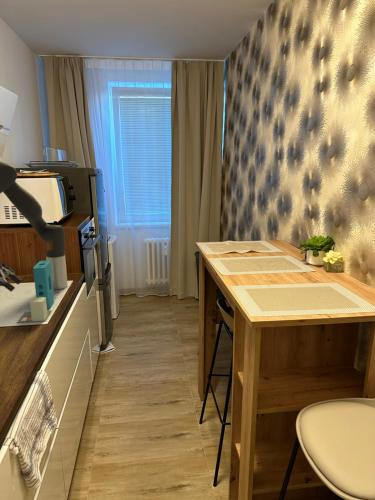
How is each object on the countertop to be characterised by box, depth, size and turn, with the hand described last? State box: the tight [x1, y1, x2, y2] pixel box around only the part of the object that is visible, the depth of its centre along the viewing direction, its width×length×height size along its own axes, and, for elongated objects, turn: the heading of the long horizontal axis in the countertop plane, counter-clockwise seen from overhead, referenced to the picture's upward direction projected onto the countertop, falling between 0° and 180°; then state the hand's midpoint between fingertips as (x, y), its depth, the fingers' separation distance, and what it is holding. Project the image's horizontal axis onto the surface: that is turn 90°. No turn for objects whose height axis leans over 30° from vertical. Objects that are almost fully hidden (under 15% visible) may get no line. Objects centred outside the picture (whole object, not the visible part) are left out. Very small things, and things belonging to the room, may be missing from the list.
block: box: [32, 260, 55, 310], centre depth 159 cm, size 12×5×20 cm, turn 8°
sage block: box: [29, 297, 48, 321], centre depth 147 cm, size 5×5×8 cm
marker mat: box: [16, 309, 53, 324], centre depth 150 cm, size 11×12×1 cm
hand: (16, 286), depth 143 cm, fingers open, 8 cm apart
